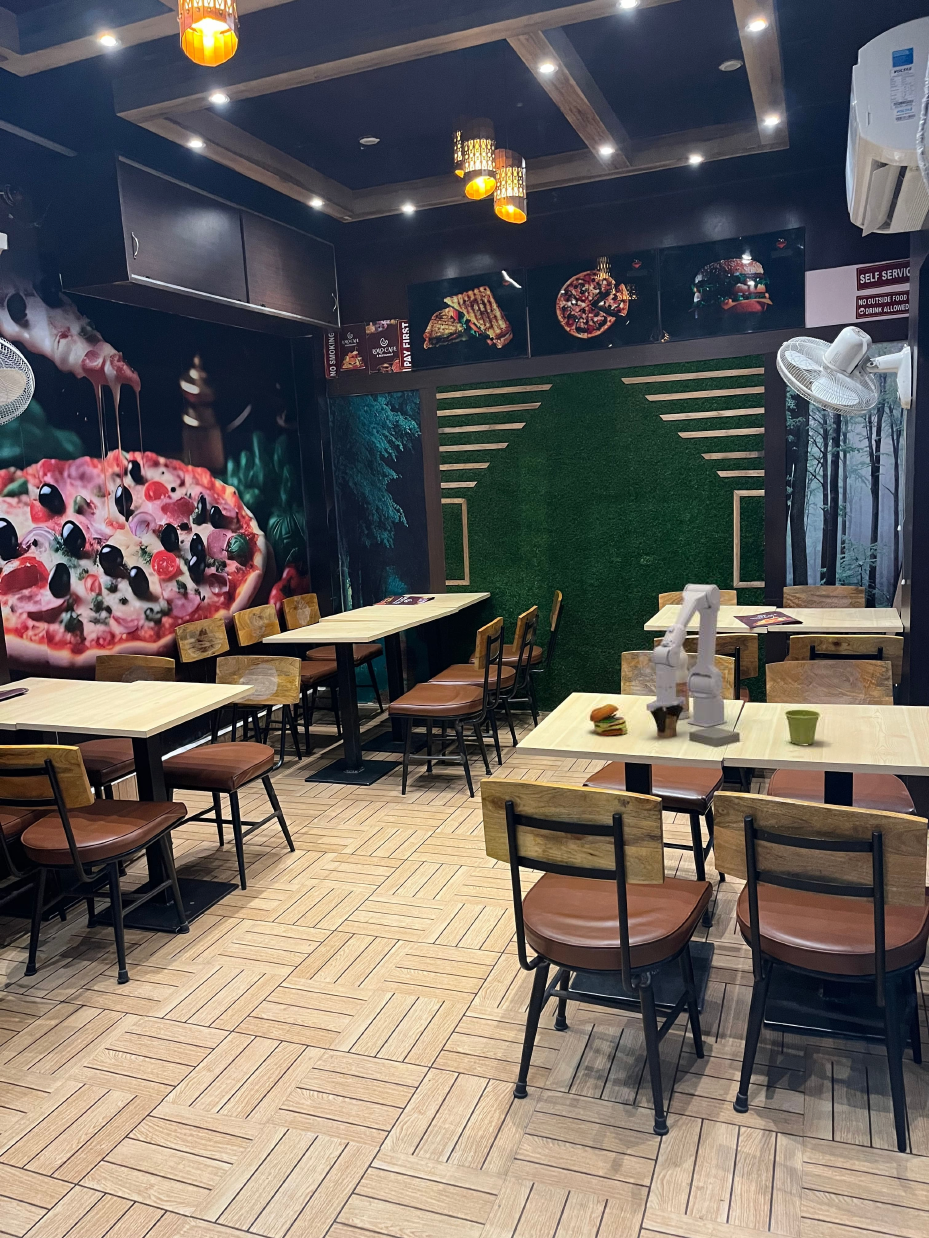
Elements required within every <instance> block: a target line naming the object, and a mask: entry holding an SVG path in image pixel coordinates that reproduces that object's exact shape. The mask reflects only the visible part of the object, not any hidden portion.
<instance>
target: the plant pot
mask: <svg viewBox="0 0 929 1238" xmlns="http://www.w3.org/2000/svg"><path fill="white" fill-rule="evenodd" d="M784 715H785V716H786V720H787V723H788V725H787V726H788V731H789V738H790V739H789V740H790V743H791V742H792V743H791V744H793V743H795V745H797V744H810V745H812V744H811V743H813V742H815V737H816V730H817V724H818V720H819V719H820V717H821V713H820V712H818V711H816V710H809V709H790V710H786V711H785V712H784ZM813 744H814V743H813Z"/></svg>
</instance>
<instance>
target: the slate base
mask: <svg viewBox="0 0 929 1238" xmlns="http://www.w3.org/2000/svg"><path fill="white" fill-rule="evenodd" d="M688 733H689V736H688V737H689V739H688V741H689V742H692V743H693V742H694V743H698V744H701V745H704V746H705V745H706V746H708V747H709V746H710V747H713V748H718V747H723V746H727V745H731V744H734V743H738V742H741V740H740V738H741V737H740V735H741V733H740V732H739V731H733V730H729V729H725V728H720V727H716V726H709V727H704V728H702V729H695V730H693V731H689V732H688Z"/></svg>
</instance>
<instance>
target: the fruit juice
mask: <svg viewBox="0 0 929 1238" xmlns="http://www.w3.org/2000/svg"><path fill="white" fill-rule="evenodd" d="M680 650H681V652H680V660H679V662H678V664H677V665H676V697H685V698H686V704H679V706H683V710H682V712H681V714H680V716H679V718H678V720H685V719H688V718H690V717H689V716H690V692H689V690H688V688H687V680H688V677H689V674H690V673H689V671H688V668H687V666H688V664H689V656H688V653H687V652H686V650H685V649H684V646H683V645H682V646H681V648H680ZM663 709H664V710H665V711H666V708H663Z"/></svg>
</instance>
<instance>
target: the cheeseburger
mask: <svg viewBox="0 0 929 1238" xmlns="http://www.w3.org/2000/svg"><path fill="white" fill-rule="evenodd" d="M617 711H619V708H618V706H616V705H614V704H611V703H607V704H605V705H603V706H600V707H597V708H594V709H593V710H592V711H591V713H590V715H589V721H590V722H592V723H593V725H594V726H593V727H594V728H593V729H594V731H595V732H596V733H597V734H598V735H600V736H604V737H605V736H606V737H607V736H615V735H626V734H627V733H628V727H627V720H626V718H624V717H623V716H617V715H618V713H616V712H617Z"/></svg>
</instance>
